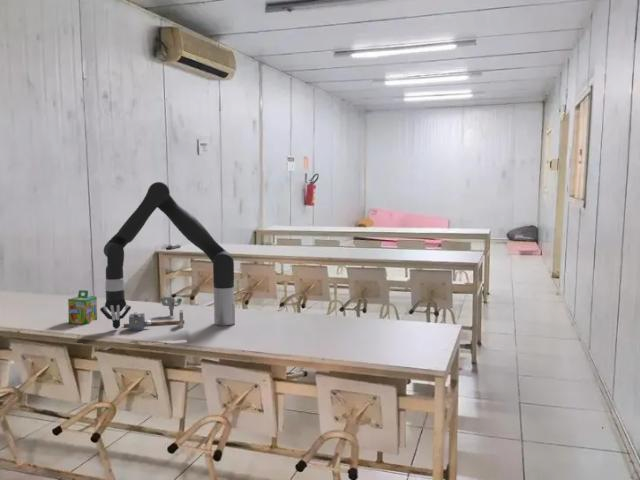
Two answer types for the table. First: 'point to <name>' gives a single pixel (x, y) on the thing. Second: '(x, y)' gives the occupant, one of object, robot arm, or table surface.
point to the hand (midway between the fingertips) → (116, 328)
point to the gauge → (137, 321)
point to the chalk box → (82, 308)
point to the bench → (166, 321)
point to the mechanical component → (170, 303)
